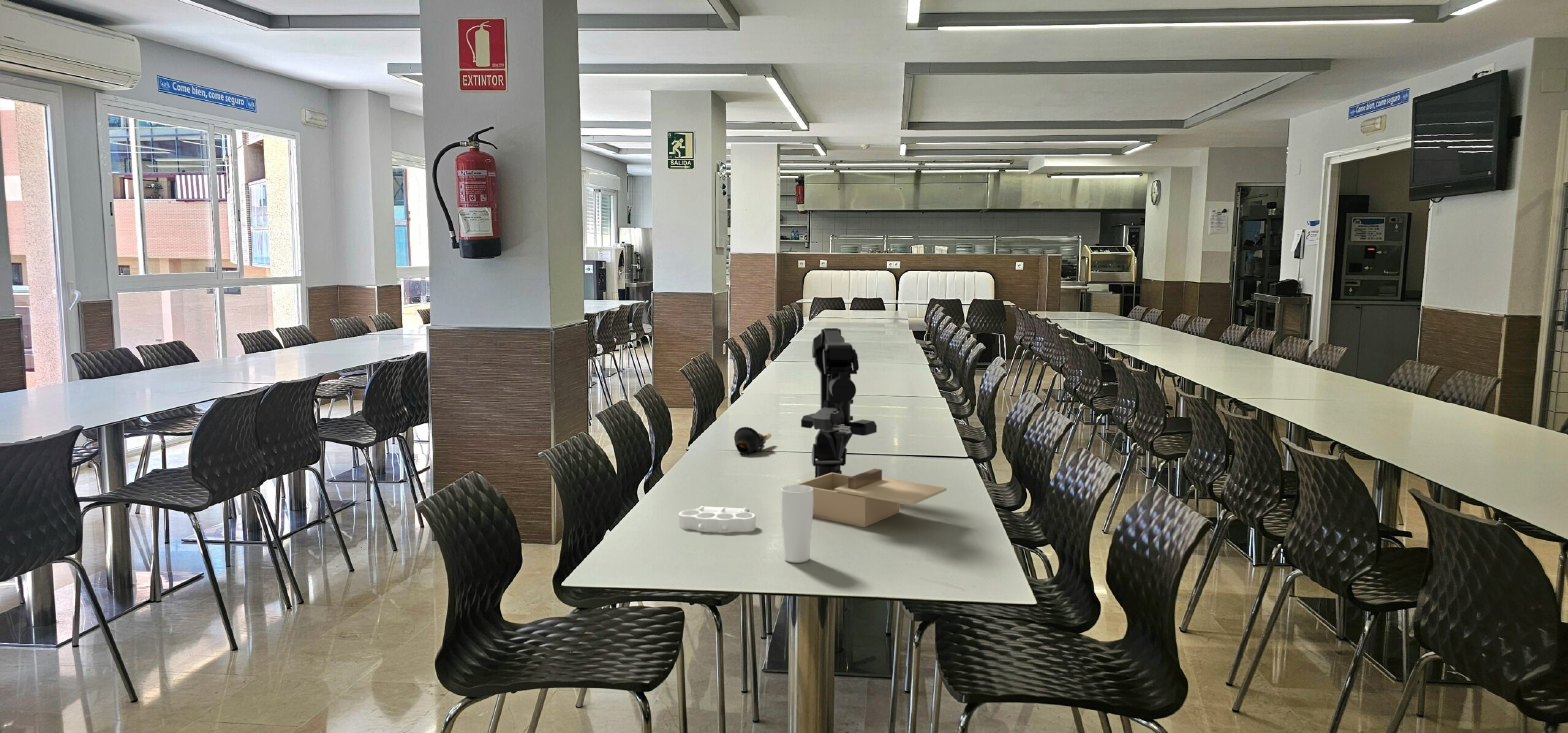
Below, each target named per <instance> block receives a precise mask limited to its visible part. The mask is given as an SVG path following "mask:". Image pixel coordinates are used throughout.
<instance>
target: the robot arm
mask: <svg viewBox="0 0 1568 733" xmlns="http://www.w3.org/2000/svg"><path fill="white" fill-rule="evenodd" d="M811 355H812V356H811V357H812V358H813V359H814V366H815V367H816V369H817V370H818V372H819V375H820V376H819V377H820V408H819V409H818V410H817V412H814V413H810V414H805V415H803V416H802V418H801V420H800V427H801V428H804V429H812V428H813V429H814V430H818V431H817V434H816V435H815V437H814V443H812V452H811V464H812V467H814V478H817V477H820V476H823V475H826V474H829V473H838V474H842V473H843V472H842V470H841V467H844V466H845V465H846V464H847V452H848V449H847V446H848V443H849V441H850V439H851V437H852V436H853V435H854V436H855V435H856V436H862V437H863V436H869V435H872V434H877V433H878V431H877V428H878V426H877V423H876V422H875V421H874V420H869V419H858V420H855V421H854V415H851V405H853V404H854V398H855V396H856V392H857V387H856V384H855V382H854V381H853V380H852V379H851V378H852V377H851V375H858V371H859V369H860V366H859V357H858V353H857V350H856V349H855V348H853V345H852V344H851V343H849V342H845V338H844V336H842V330H841V328H838V327H824V328H822V329H821V330H820V333H819V334H818V335H816V336H815V337H814V338H813V340H812V346H811Z"/></svg>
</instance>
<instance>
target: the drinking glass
mask: <svg viewBox="0 0 1568 733" xmlns="http://www.w3.org/2000/svg"><path fill="white" fill-rule="evenodd" d="M813 508H814V494H813V488H812V487H810V486H806V485H795V484H788V485H784V486H782V487H781V488H780V517H781V518H780V520H781V528H782V543H783V558H784V560H785V561H786V562H789V563H795V564H802V563H806V562H808V561H809V560H810V558H811V539H812V530H813V520H814V519H813V518H814V517H813Z"/></svg>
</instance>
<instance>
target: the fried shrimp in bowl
mask: <svg viewBox="0 0 1568 733" xmlns="http://www.w3.org/2000/svg"><path fill="white" fill-rule="evenodd" d="M771 437H772V434H771V433H767V434H765V435H763V434H762V433H760V432H758V431H757V430H755V429H754V428H752V427H748V426H742V427H741V428H738V429H736V431H735V433H734V436H733V438H734V445H735V447H736V450H737V451H738V452H739V453H741V454H743V455H744V454H750V453H753V452H755V451H756V452H759V451H761V450H763V449H764V448H765V444H766V443H767V440H769V439H770V438H771Z"/></svg>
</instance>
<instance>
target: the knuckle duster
mask: <svg viewBox="0 0 1568 733" xmlns="http://www.w3.org/2000/svg"><path fill="white" fill-rule="evenodd" d="M756 521H757V520H756V514H754V513H753V512H750V509H749V508H748V507H743V508H742V507H741V508H739V507H738V508H737V507H726V506H722V507H720V506H719V507H718V506H706V505H701V506H699V507H698V508H694V509H684V510H682V511H679V513H678V527H679V529H683V530H694V531H697V532H703V533H719V534H722V533H723V534H725V533H727V534H729V533H733V532H734V533H736V532H739V533H740V532H741V533H749V532H752V531H754V530H756V528H757V527H756V526H757V525H756V523H757V522H756Z"/></svg>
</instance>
